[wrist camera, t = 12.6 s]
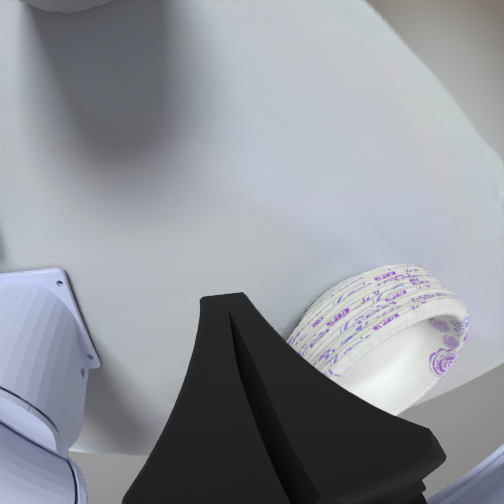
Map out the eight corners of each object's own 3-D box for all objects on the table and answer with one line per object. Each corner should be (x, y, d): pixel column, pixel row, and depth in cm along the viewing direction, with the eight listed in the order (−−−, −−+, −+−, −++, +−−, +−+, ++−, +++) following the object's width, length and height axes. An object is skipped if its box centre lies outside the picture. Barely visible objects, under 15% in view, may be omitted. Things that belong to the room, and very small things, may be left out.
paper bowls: (430, 308, 29) (474, 359, 22) (314, 391, 31) (342, 452, 24) (393, 200, 21) (469, 258, 14) (225, 325, 23) (249, 417, 16)
